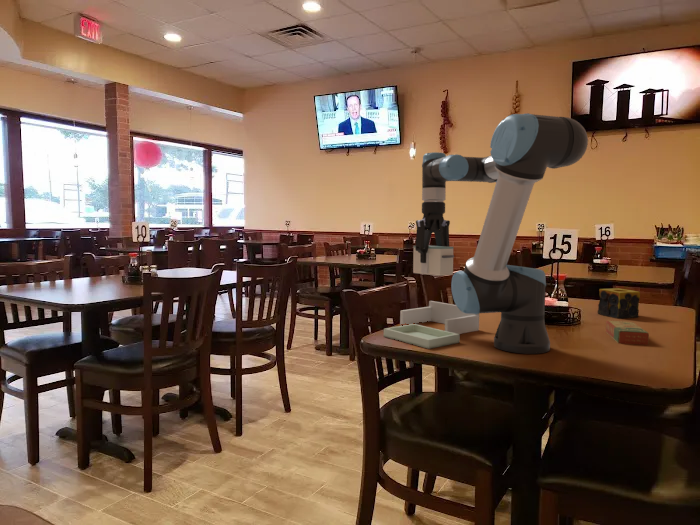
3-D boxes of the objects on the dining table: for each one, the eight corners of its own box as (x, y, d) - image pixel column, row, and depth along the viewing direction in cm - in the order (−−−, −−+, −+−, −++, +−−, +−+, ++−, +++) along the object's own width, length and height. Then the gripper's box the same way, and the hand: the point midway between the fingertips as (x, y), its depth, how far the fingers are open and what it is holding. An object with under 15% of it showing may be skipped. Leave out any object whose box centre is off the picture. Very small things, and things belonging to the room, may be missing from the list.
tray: (459, 342, 153) (459, 334, 153) (428, 348, 146) (428, 340, 145) (413, 331, 168) (413, 323, 168) (383, 336, 161) (383, 328, 160)
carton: (633, 334, 168) (634, 321, 167) (649, 346, 152) (650, 332, 152) (605, 332, 170) (605, 319, 169) (617, 344, 154) (618, 330, 154)
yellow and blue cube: (597, 314, 202) (598, 288, 202) (617, 313, 206) (619, 288, 205) (617, 319, 193) (619, 292, 192) (639, 317, 196) (640, 291, 195)
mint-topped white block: (455, 274, 167) (456, 246, 166) (442, 276, 163) (443, 247, 163) (425, 271, 177) (426, 245, 177) (413, 272, 174) (413, 245, 173)
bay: (478, 330, 171) (479, 309, 170) (447, 336, 162) (447, 313, 161) (431, 320, 188) (431, 300, 187) (400, 324, 179) (400, 304, 178)
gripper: (444, 202, 178) (443, 270, 180) (404, 201, 166) (403, 273, 168) (462, 202, 172) (460, 271, 174) (420, 200, 160) (419, 275, 162)
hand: (432, 272), depth 171 cm, fingers closed on mint-topped white block, 6 cm apart
